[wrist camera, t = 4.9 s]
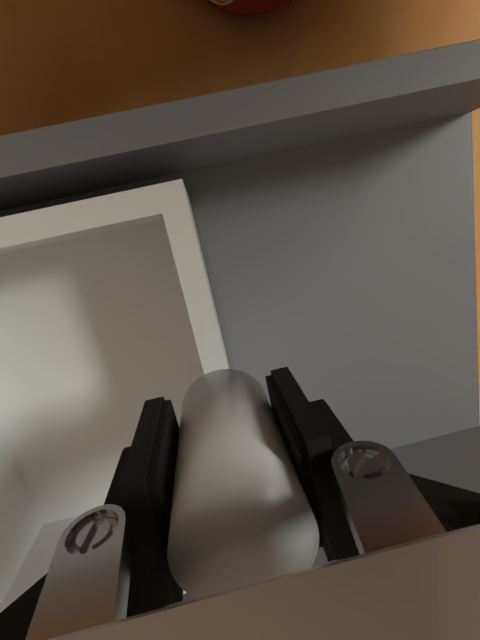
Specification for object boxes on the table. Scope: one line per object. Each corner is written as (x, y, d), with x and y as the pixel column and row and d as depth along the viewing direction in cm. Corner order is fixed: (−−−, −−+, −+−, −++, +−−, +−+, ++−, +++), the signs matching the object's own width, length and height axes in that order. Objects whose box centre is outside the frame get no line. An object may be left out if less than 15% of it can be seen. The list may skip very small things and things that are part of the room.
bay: (455, 94, 17) (620, 10, 10) (467, 430, 22) (583, 519, 16) (-140, 219, 16) (-392, 214, 9) (21, 546, 21) (-63, 697, 14)
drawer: (212, 189, 16) (240, 113, 5) (273, 467, 20) (361, 757, 9) (-87, 254, 15) (-805, 328, 4) (39, 527, 19) (-166, 917, 8)
